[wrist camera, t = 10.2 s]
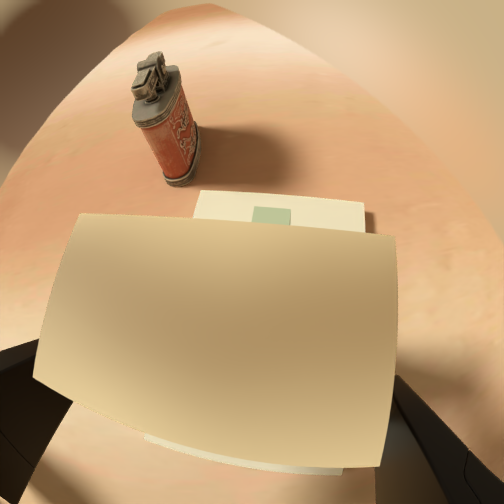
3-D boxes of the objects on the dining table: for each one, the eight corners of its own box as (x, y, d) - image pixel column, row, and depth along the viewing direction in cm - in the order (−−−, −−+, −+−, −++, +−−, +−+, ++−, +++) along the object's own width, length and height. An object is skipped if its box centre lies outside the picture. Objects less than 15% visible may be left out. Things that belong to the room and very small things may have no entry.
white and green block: (338, 470, 12) (354, 496, 8) (150, 437, 14) (114, 448, 10) (361, 210, 20) (375, 170, 16) (204, 197, 22) (187, 158, 18)
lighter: (171, 129, 26) (138, 49, 17) (203, 123, 26) (176, 37, 17) (160, 190, 23) (108, 98, 14) (198, 183, 23) (157, 82, 14)
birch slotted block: (311, 403, 14) (379, 465, 3) (194, 385, 15) (32, 376, 4) (320, 335, 15) (395, 235, 5) (206, 321, 17) (80, 213, 6)
